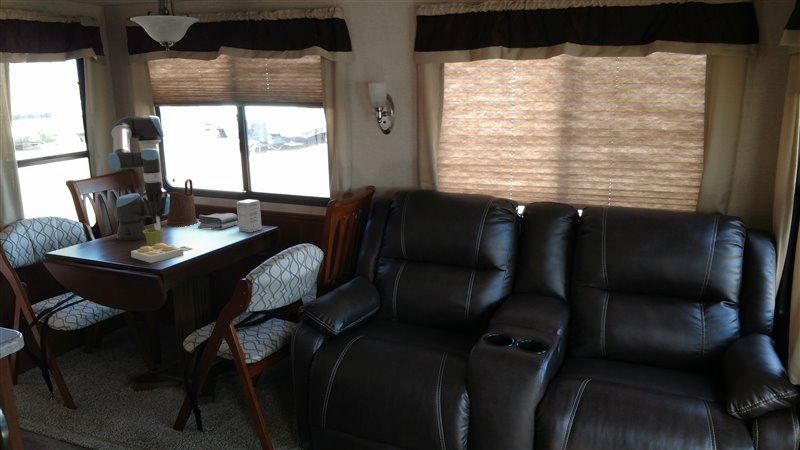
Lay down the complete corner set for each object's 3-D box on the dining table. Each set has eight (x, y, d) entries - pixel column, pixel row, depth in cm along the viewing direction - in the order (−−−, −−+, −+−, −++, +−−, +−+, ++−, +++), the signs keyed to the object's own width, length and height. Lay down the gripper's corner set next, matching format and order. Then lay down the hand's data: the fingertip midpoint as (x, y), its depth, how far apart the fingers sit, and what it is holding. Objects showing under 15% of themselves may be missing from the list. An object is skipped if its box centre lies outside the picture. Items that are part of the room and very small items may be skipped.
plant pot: (152, 249, 301) (150, 233, 299) (140, 247, 306) (138, 231, 304) (168, 245, 308) (166, 229, 307) (156, 243, 313) (154, 227, 311)
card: (172, 249, 300) (172, 248, 300) (184, 246, 305) (184, 245, 305) (180, 252, 296) (180, 250, 296) (192, 249, 301) (192, 247, 301)
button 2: (146, 258, 284) (146, 252, 283) (156, 256, 288) (156, 250, 287) (152, 260, 281) (151, 254, 280) (162, 258, 285) (161, 252, 284)
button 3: (152, 250, 294) (152, 244, 293) (162, 248, 298) (161, 242, 297) (158, 252, 291) (157, 246, 290) (167, 249, 295) (167, 243, 294)
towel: (222, 230, 341) (221, 217, 339) (196, 228, 348) (195, 215, 346) (239, 225, 355) (238, 212, 353) (213, 223, 361) (212, 210, 360)
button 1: (138, 253, 288) (137, 247, 287) (147, 251, 292) (147, 245, 291) (143, 255, 285) (143, 249, 284) (153, 253, 289) (152, 247, 288)
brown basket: (159, 227, 352) (154, 184, 346) (180, 218, 375) (176, 178, 369) (188, 227, 349) (184, 185, 343) (208, 219, 372) (204, 178, 366)
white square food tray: (131, 257, 288) (130, 251, 287) (164, 249, 301) (163, 243, 300) (150, 263, 278) (150, 256, 277) (183, 254, 291) (182, 248, 290)
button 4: (161, 252, 289) (160, 246, 289) (170, 250, 293) (169, 244, 292) (166, 254, 286) (166, 248, 286) (176, 252, 290) (175, 246, 289)
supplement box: (262, 229, 342) (260, 200, 338) (250, 232, 334) (248, 203, 330) (250, 227, 347) (248, 198, 343) (238, 230, 339) (236, 201, 335)
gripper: (144, 183, 279) (149, 233, 284) (169, 180, 289) (174, 228, 294) (135, 182, 284) (141, 231, 289) (161, 179, 294) (165, 226, 299)
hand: (157, 229), depth 292 cm, fingers closed
